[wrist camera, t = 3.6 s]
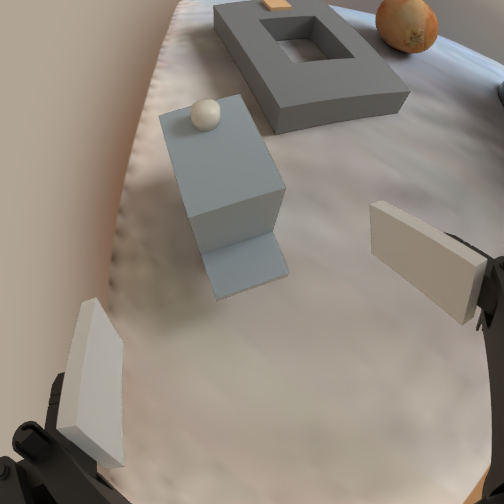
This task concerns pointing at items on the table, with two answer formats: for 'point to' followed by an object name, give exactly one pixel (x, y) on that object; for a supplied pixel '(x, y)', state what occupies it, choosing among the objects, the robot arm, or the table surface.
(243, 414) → the table surface
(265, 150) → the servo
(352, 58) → the pocket block
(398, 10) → the onion
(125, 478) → the table surface
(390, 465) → the table surface
